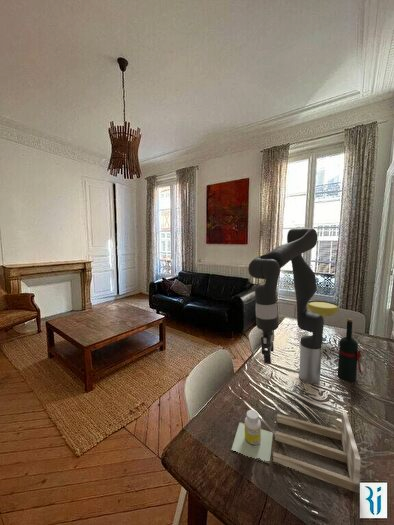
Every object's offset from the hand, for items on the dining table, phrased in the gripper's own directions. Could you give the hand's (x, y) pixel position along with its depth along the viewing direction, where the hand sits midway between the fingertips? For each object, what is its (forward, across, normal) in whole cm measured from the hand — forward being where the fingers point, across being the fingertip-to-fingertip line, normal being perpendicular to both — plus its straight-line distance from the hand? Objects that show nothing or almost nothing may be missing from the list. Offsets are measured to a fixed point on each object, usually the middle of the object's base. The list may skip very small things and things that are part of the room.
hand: (269, 356), depth 82 cm
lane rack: (+27, -7, -13) cm, 30 cm away
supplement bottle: (+25, -12, +5) cm, 28 cm away
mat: (+25, -12, +5) cm, 28 cm away
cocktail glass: (+33, +85, -22) cm, 94 cm away
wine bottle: (+31, +42, -31) cm, 61 cm away
